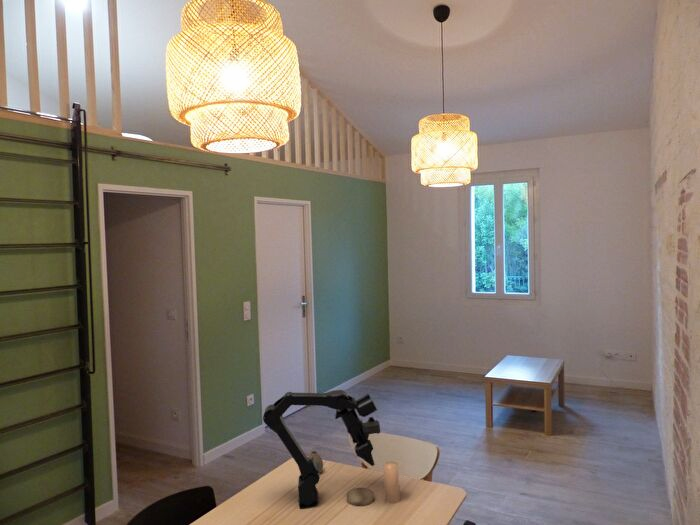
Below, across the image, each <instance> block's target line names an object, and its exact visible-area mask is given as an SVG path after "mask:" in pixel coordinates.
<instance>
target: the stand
mask: <svg viewBox="0 0 700 525" xmlns="http://www.w3.org/2000/svg"><path fill="white" fill-rule="evenodd" d="M374 501H375V492H374V491H373V490H372V489H371V488H368V487H364V486H363V487H360V486H359V487H355V488H352V489H349V490H348V491H347V492H346V503H347V504H349V505H350V506H353V507H365V506H368V505H371V504H372V503H373V502H374Z"/></svg>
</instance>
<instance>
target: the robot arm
mask: <svg viewBox="0 0 700 525" xmlns="http://www.w3.org/2000/svg"><path fill="white" fill-rule="evenodd" d="M291 406H316V407H317V406H321V407H322V406H323V407H326V408H327V407H328V408H330V409H332V410H333V409H334V410H335V413H334V419H335V420H338V419H341V420H342V422H343V425H344V426H345V428H346V430H347V431H346V432H347V433H348V434H349V436H350V438H351V441H352V443H353V444H354V445H355V446H354V452H355V455H356V456H357V458H360V459H362V460H363V461H364V462H366V463H367V464H368V465H370V466H372V467H373V466H375V461H374V458H373V455H372V454H373V453H372V452H373V450H374V446H373V443H372V442H371V440H370V439H369V436H370V435H373V434H374V435H375V434H380V433H381V427H380V426H381V424H380V421H379V420H377V419H376V420H375V418H374V416H369V415H372V414H374V413H375V412H378V407H377V406H376V404H375V401H374V400H373V399H372V397H371V396H370V393H366V394H365V395H363V396H362V397H360V398H358V399H356V398H355V397H353V396H351V395H349V394H348V393H347V392H346V391H345V390H344V389H337V390H331V391H328V392H323V393H322V392H321V393H320V392H292V391H287V392H286V393H285V394H284V395H283V396H282V397H280V398H279V399H278V400H276V401H275V402H274V403H273V404H270V405H267V406H266V408H265V409H264V412H263V416H262V420H263V422H264V424H265V425H266V426H267V428H269V429H270V430H271V431H273V432H274V433H275V434H276V435H277V436H278V438H279V439H280V441H282V442H281V443H282V444H283V445H284V446H285V448H286V449H287V451H288V452H289V454H290V456H291V457H292V459H293V460H294V461H295V464H297V466H298V469H299V474H300V475H299V476H298V483H297V484H298V485H297V495H298V496H297V497H298V499H297V503H298V506H299V509H300V510H301V509H308V508H314V507H318V505H319V504H318V502H319V494H318V492H319V491H318V488H317V487H316V486H317V484H319V481H320V474H319V464H318V463H317V462H316V461H315V459H314V457H312V458H311V459H310V458H308V457H309V456H307V455H306V452H304V450H303V449H302V448H301V445H300V444H299V443H298V441H297V439H296V438H295V437H294V434H292V431H291V430H290V429H289V428H288V426H287V424H286V421H285V419H284V416H283V415H284V414H285V412H286V411H287V410H288V409H289V408H291ZM367 416H369V417H368V418H367V420H366V421H365V422H363V420H361V419H360V417H362V418H365V417H367Z"/></svg>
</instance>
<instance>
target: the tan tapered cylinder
mask: <svg viewBox="0 0 700 525" xmlns="http://www.w3.org/2000/svg"><path fill="white" fill-rule="evenodd" d="M399 477H400V476H399V465H398V462H396V461H385V462H384V463H383V479H384V480H383V482H384V495H385V496H384V497H385V498H384V499H385V502H386V503H388V504H393V505H394V504H397V503H399V502H400V500H401V498H400V480H399V479H400V478H399Z"/></svg>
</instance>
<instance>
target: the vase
mask: <svg viewBox="0 0 700 525" xmlns="http://www.w3.org/2000/svg"><path fill="white" fill-rule="evenodd" d="M307 457H308V458H310V459H311V458H312V457H314V459H315V461H316V462H317V463H318V464H319V475H320V474H321V473H322V471H323V468H324V462H323V458H322V457H321V455H320V454H319V453H318V451H317V450H313V451H312V450H311V452H310V454H309V456H307Z"/></svg>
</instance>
